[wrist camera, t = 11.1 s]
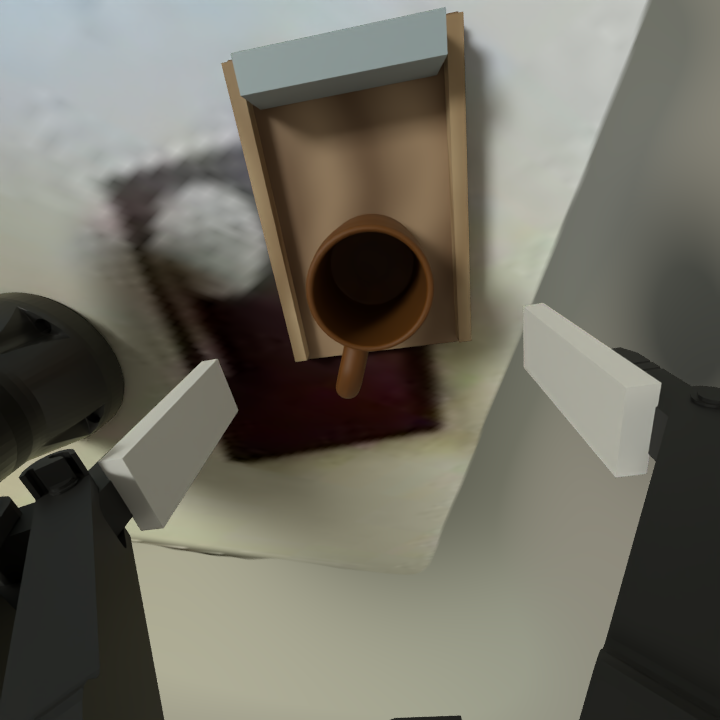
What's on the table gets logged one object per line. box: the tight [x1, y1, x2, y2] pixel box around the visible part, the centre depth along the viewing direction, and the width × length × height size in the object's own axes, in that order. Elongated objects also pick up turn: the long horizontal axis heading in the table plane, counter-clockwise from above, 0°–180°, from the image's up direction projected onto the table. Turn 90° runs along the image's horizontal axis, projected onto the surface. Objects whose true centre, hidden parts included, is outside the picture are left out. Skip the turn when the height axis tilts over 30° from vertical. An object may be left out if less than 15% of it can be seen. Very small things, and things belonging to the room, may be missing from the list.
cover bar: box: [231, 7, 448, 110], centre depth 22 cm, size 12×2×4 cm, turn 98°
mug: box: [306, 214, 434, 399], centre depth 26 cm, size 12×8×9 cm, turn 168°
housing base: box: [221, 12, 471, 362], centre depth 28 cm, size 15×22×3 cm
